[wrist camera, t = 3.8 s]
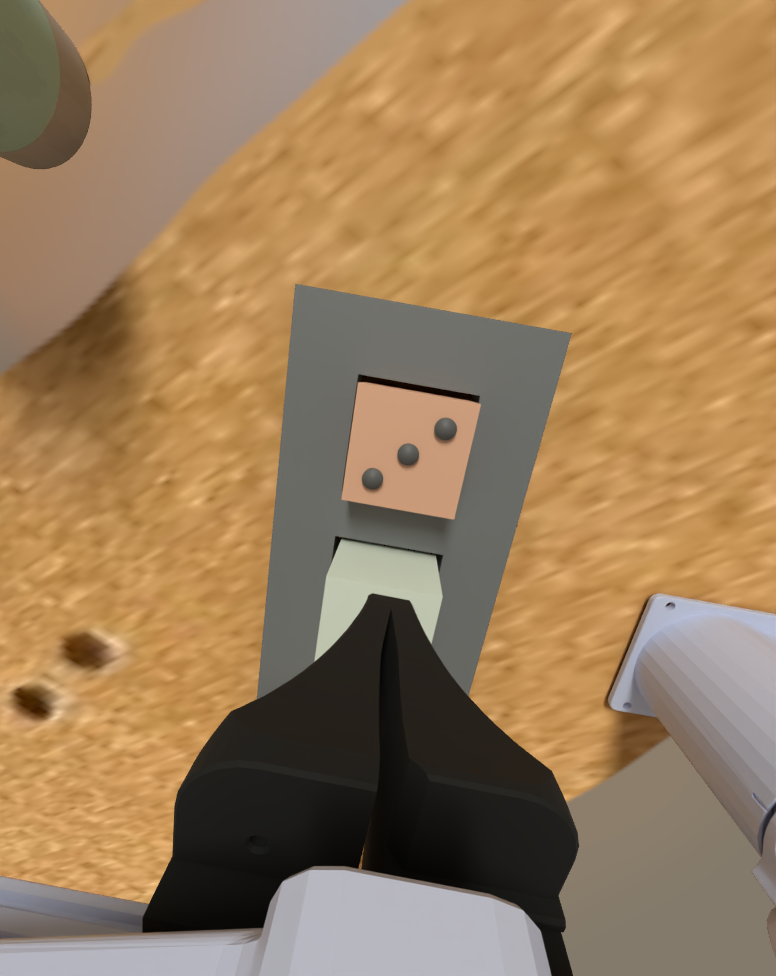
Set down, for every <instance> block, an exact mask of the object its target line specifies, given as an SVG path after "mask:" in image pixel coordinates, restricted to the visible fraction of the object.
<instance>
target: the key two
mask: <svg viewBox="0 0 776 976" xmlns="http://www.w3.org/2000/svg"><path fill="white" fill-rule="evenodd" d="M372 593H374V594H379V595H384V596H390V597H395V598H400V599H405V600H410V602H411V603H412V605H413V608H414V610H415V613H416V615H417V617H418V619H419V621H420V624H421V626H422V628H423V630H424V632H425V634H426V635H427V637H428V639H429V641H430V643H431V644H432V640H433V635H434V631H435V627H436V623H437V619H438V615H439V610H440V606H441V602H442V598H443V595H442V589H441V583H440V578H439V572H438V566H437V560H436V555H433V554H427V553H421V552H416V551H410V550H404V549H399V548H393V547H387V546H382V545H376V544H370V543H365V542H359V541H354V540H348V539H341V541H340V544H339V546H338V549H337V551H336V554H335V556H334V559H333V561H332V563H331V566H330V568H329V571H328V573H327V576H326V582H325V589H324V596H323V603H322V610H321V618H320V625H319V632H318V639H317V646H316V653H315V660H314V662H315V661H316V660H317V659H318V658H319V657H321V656H322V655H323V654H324V653H325V652H326V651H327V650H328V649H329V648H330V647H331V646H332V645H333V644H334V643H335V642H336V641H337V640H338V639H339V638H340V637H341V635H342V634H343V633H344V632H345V631H346V630H347V629H348V627H349V626H350V625H351V624H352V622H353V621H354V620H355V618H356V617H357V615H358V614H359V613H360V611H361V609H362V608H363V606H364V604H365V602H366V600H367V598H368V595H370V594H372Z"/></svg>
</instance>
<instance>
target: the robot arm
mask: <svg viewBox="0 0 776 976" xmlns="http://www.w3.org/2000/svg"><path fill="white" fill-rule="evenodd" d="M669 602H671V603H670V604H669V605H668V606H666V605H667V603H669ZM626 702H627V703H626ZM608 703H609V705H610V707H611V708H612V709H614V710H617V711H623V712H629V713H634V714H640V715H646V716H651V717H657V718H658V719H659V721H660V722H661V723H662V725H663V726H664V727H665V729H666V730H667V731H668V733H669V734H670V735H671V737H672V738H673V739H674V741H675V742H676V743H677V745H678V746H679V747H680V749H681V750H682V751H683V753H684V754H685V755H686V757H687V758H688V760H689V761H690V762H691V764H692V765H693V766H694V768H695V769H696V770H697V772H698V773H699V774H700V776H701V777H702V778H703V780H704V781H705V782H706V784H707V785H708V787H709V788H710V789H711V791H712V792H713V793H714V795H715V796H716V797H717V799H718V800H719V801H720V802H721V804H722V805H723V807H724V808H725V809H726V811H727V812H728V813H729V815H730V816H731V817H732V819H733V820H734V822H735V823H736V824H737V826H738V827H739V828H740V830H741V831H742V832H743V834H744V835H745V836H746V838H747V839H748V840H749V842H750V843H751V844H752V846H753V847H754V848H755V850H756V851H757V852H758V854H759V855H760V857H761V859H760V861H759V862H758V864H757V865H756V866H755V867H754V868H753V869H752V874H753V875H754V877H755V878H756V880H757V881H758V882H759V884H760V885H761V887H762V888H763V890H764V891H765V892H766V894H767V895H768V897H769V898H770V899H771V901H772V902H773V904H774V905H775V908H774V909H772V910H771V912H770V914H769V916H768V919H767V930H768V934H769V938H770V942H771V945H772V948H773V951H774V953H775V956H776V614H773V613H767V612H762V611H756V610H750V609H745V608H739V607H733V606H728V605H722V604H716V603H711V602H705V601H699V600H694V599H688V598H683V597H677V596H671V595H666V594H655V595H653V596H651V597H650V599H649V601H648V603H647V606H646V608H645V610H644V613H643V615H642V618H641V620H640V622H639V625H638V627H637V630H636V632H635V635H634V637H633V639H632V642H631V644H630V647H629V649H628V651H627V654H626V656H625V659H624V661H623V664H622V666H621V668H620V671H619V673H618V676H617V678H616V680H615V683H614V685H613V688H612V690H611V692H610V695H609V697H608ZM624 703H625V704H624ZM363 847H364V852H363V860H362V869H358V867H359V863H360V859H361V855H362V851H363ZM578 848H579V843H578V833H577V830H576V827H575V825H574V822H573V819H572V817H571V814H570V811H569V809H568V806H567V804H566V801H565V799H564V796H563V794H562V792H561V790H560V788H559V786H558V784H557V781H556V779H555V777H554V775H553V773H552V771H551V770H550V769H548V768H547V767H546V766H545V765H543V764H542V763H541V762H539V761H538V760H537V759H536V758H534V757H533V756H532V755H531V754H529V753H528V752H527V751H525V750H524V749H523V748H522V747H520V746H519V745H518V744H517V743H515V742H514V741H513V740H512V739H511V738H510V737H509V736H508V735H506V734H505V733H504V732H503V731H502V730H501V729H500V728H499V727H498V726H496V725H495V724H494V723H493V722H492V721H491V720H490V719H489V718H488V717H487V716H486V715H485V714H484V713H483V712H482V711H481V710H480V708H479V707H478V706H477V705H476V704H475V703H474V702H473V701H472V700H471V699H470V698H469V697H468V695H467V694H466V693H465V692H464V691H463V690H462V688H461V687H460V686H459V685H458V683H457V682H456V681H455V679H454V678H453V677H452V676H451V674H450V673H449V672H448V670H447V669H446V667H445V666H444V664H443V663H442V661H441V659H440V658H439V656H438V655H437V653H436V651H435V650H434V648H433V646H432V644H431V643H430V641H429V639H428V637H427V635H426V634H425V632H424V630H423V628H422V626H421V624H420V621H419V619H418V617H417V615H416V613H415V610H414V608H413V605H412V603H411V602H410V600H405V599H400V598H395V597H390V596H384V595H379V594H374V593H372V594H370V595H368V598H367V600H366V602H365V604H364V606H363V608H362V609H361V611H360V613H359V614H358V615H357V617H356V618H355V620H354V621H353V622H352V624H351V625H350V626H349V627H348V629H347V630H346V631H345V632H344V633H343V634H342V635H341V637H340V638H339V639H338V640H337V641H336V642H335V643H334V644H333V645H332V646H331V647H330V648H329V649H328V650H327V651H326V652H325V653H324V654H323V655H322V656H321V657H319V658H318V659H317V660H316V661H315V662H313V663H312V664H311V665H310V666H308V667H307V668H306V669H305V670H303V671H302V672H301V673H299V674H298V675H297V676H295V677H294V678H292V679H291V680H289V681H288V682H286V683H284V684H283V685H281V686H280V687H278V688H276V689H275V690H273V691H272V692H270V693H268V694H266V695H265V696H263V697H261V698H259V699H257V700H255V701H253V702H250V703H248V704H246V705H244V706H242V707H240V708H238V709H235V710H233V711H231V712H230V713H229V715H228V716H227V717H226V718H225V719H224V721H223V722H222V723H221V724H220V725H219V727H218V728H217V729H216V731H215V732H214V733H213V735H212V736H211V737H210V739H209V740H208V742H207V743H206V744H205V746H204V747H203V749H202V750H201V752H200V753H199V755H198V756H197V758H196V760H195V761H194V763H193V765H192V767H191V769H190V771H189V772H188V774H187V776H186V778H185V780H184V781H183V783H182V785H181V787H180V789H179V790H178V793H177V798H176V802H175V808H174V832H173V855H172V858H171V860H170V862H169V864H168V866H167V869H166V871H165V873H164V875H163V877H162V879H161V881H160V883H159V885H158V887H157V889H156V891H155V893H154V895H153V897H152V899H151V901H150V903H149V904H146V903H141V902H136V901H131V900H125V899H120V898H115V897H109V896H104V895H99V894H94V893H88V892H83V891H78V890H72V889H67V888H62V887H57V886H51V885H46V884H41V883H36V882H30V881H25V880H20V879H14V878H9V877H4V876H0V976H573V974H572V970H571V967H570V963H569V960H568V956H567V952H566V948H565V945H564V941H563V938H562V934H561V932H564V930H565V928H566V922H565V917H564V913H563V910H562V907H561V903H560V900H559V897H558V895H559V893H560V891H561V889H562V886H563V884H564V882H565V880H566V878H567V876H568V874H569V872H570V870H571V868H572V866H573V863H574V861H575V859H576V855H577V851H578Z"/></svg>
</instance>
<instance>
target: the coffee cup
mask: <svg viewBox="0 0 776 976" xmlns="http://www.w3.org/2000/svg"><path fill="white" fill-rule="evenodd" d="M90 119H91V92H90V85H89V80H88V76H87V73H86V70H85V67H84V64H83V62H82V59H81V57H80V55H79V53H78V51H77V49H76V47H75V46H74V44H73V42H72V41H71V39H70V38H69V37H68V35H67V34H66V33H65V32H64V30H63V29H62V28H61V26H60V25H59V24H58V23H57V22H56V21H55V19H54V18H53V17H52V16H51V14H50V13H49V12H48V11H47V9H46V8H45V7H44V6H43V4H42V3H41V2H40V1H39V0H0V157H2V158H4V159H7V160H9V161H12V162H14V163H16V164H19V165H21V166H24V167H29V168H33V169H48V168H52V167H56V166H58V165H61V164H63V163H64V162H66V161H67V160H69V159H70V158H71V157H72V156H73V155H74V154H75V153H76V152H77V151H78V149H79V148H80V146H81V145H82V143H83V141H84V139H85V137H86V134H87V132H88V128H89V124H90Z"/></svg>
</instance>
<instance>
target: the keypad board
mask: <svg viewBox="0 0 776 976" xmlns="http://www.w3.org/2000/svg"><path fill="white" fill-rule="evenodd" d="M571 334H572V333H567V332H562V331H556V330H551V329H545V328H539V327H534V326H528V325H523V324H517V323H511V322H506V321H500V320H495V319H489V318H483V317H478V316H472V315H467V314H461V313H455V312H450V311H444V310H439V309H433V308H427V307H422V306H416V305H411V304H405V303H399V302H394V301H388V300H383V299H377V298H371V297H366V296H360V295H355V294H349V293H343V292H338V291H332V290H327V289H321V288H315V287H310V286H304V285H299V284H295V294H294V305H293V315H292V326H291V337H290V348H289V359H288V369H287V380H286V391H285V402H284V413H283V423H282V434H281V445H280V456H279V467H278V478H277V488H276V499H275V510H274V521H273V532H272V542H271V553H270V564H269V575H268V586H267V596H266V607H265V618H264V629H263V640H262V651H261V661H260V672H259V683H258V694H257V699H259V698H261V697H263V696H265V695H266V694H268V693H270V692H272V691H273V690H275V689H276V688H278V687H280V686H281V685H283V684H284V683H286V682H288V681H289V680H291V679H292V678H294V677H295V676H297V675H298V674H299V673H301V672H302V671H303V670H305V669H306V668H307V667H308V666H310V665H311V664H312V663H313V662H314V660H315V653H316V646H317V639H318V632H319V625H320V618H321V610H322V603H323V596H324V589H325V582H326V576H327V573H328V571H329V568H330V566H331V563H332V561H333V559H334V556H335V554H336V551H337V549H338V543H339V537H344V538H350V539H355V540H361V541H366V542H372V543H378V544H383V545H389V546H395V547H400V548H406V549H412V550H417V551H423V552H429V553H434V554H437V555H436V560H437V566H438V572H439V578H440V583H441V589H442V595H443V598H442V602H441V606H440V610H439V615H438V619H437V623H436V627H435V631H434V635H433V640H432V646H433V648H434V650H435V651H436V653H437V655H438V656H439V658H440V659H441V661H442V663H443V664H444V666H445V667H446V669H447V670H448V672H449V673H450V674H451V676H452V677H453V678H454V679H455V681H456V682H457V683H458V685H459V686H460V687H461V688H462V690H463V691H464V692H465V693H466V694H467V695H469V692H470V688H471V685H472V681H473V678H474V674H475V671H476V667H477V664H478V660H479V657H480V653H481V650H482V646H483V643H484V639H485V635H486V632H487V628H488V625H489V621H490V618H491V614H492V611H493V607H494V604H495V600H496V597H497V593H498V590H499V586H500V583H501V579H502V576H503V572H504V569H505V565H506V562H507V558H508V555H509V551H510V548H511V544H512V541H513V537H514V534H515V530H516V527H517V523H518V520H519V516H520V513H521V509H522V506H523V502H524V499H525V495H526V492H527V488H528V485H529V481H530V478H531V474H532V471H533V467H534V464H535V460H536V457H537V453H538V450H539V446H540V443H541V439H542V436H543V432H544V429H545V425H546V422H547V418H548V415H549V411H550V408H551V404H552V401H553V397H554V394H555V390H556V387H557V383H558V380H559V376H560V373H561V369H562V366H563V362H564V359H565V355H566V352H567V348H568V345H569V341H570V338H571ZM363 375H366V376H371V377H377V378H383V379H388V380H394V381H399V382H405V383H411V384H416V385H422V386H428V387H433V388H439V389H444V390H450V391H456V392H461V393H467V394H472V395H473V397H472V402H476V403H479V404H481V407H480V411H479V416H478V420H477V424H476V428H475V433H474V437H473V441H472V445H471V450H470V454H469V458H468V463H467V467H466V471H465V475H464V480H463V484H462V488H461V492H460V497H459V501H458V505H457V509H456V514H455V518H454V520H453V519H448V518H442V517H436V516H431V515H425V514H419V513H414V512H408V511H403V510H397V509H391V508H386V507H380V506H374V505H369V504H363V503H357V502H352V501H346V500H341V498H342V491H343V484H344V477H345V470H346V463H347V456H348V449H349V443H350V436H351V429H352V422H353V415H354V408H355V401H356V394H357V387H358V382H362V378H363Z"/></svg>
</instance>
